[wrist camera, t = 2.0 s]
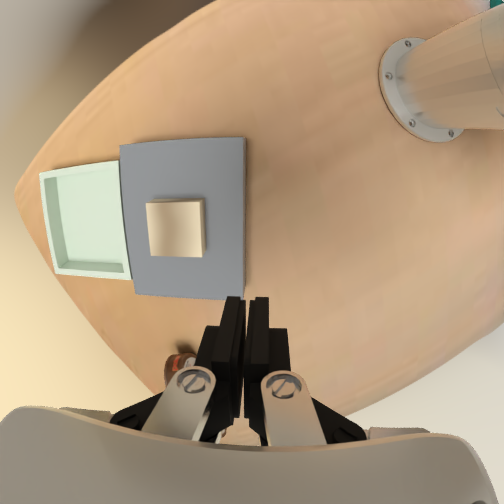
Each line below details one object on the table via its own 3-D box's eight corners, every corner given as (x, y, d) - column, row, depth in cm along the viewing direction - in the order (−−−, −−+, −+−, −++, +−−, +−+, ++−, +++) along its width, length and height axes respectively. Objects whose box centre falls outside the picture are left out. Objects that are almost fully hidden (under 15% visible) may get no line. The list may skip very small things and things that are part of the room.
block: (204, 198, 25) (199, 202, 23) (206, 249, 27) (202, 257, 25) (153, 198, 26) (145, 203, 24) (158, 248, 27) (150, 255, 25)
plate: (245, 138, 26) (243, 137, 23) (245, 285, 32) (243, 300, 29) (134, 144, 27) (119, 145, 24) (146, 280, 33) (135, 294, 29)
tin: (172, 342, 36) (153, 386, 28) (192, 338, 36) (176, 383, 28) (215, 409, 41) (207, 450, 33) (233, 407, 40) (227, 449, 32)
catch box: (131, 158, 28) (118, 160, 25) (141, 268, 32) (131, 279, 29) (54, 169, 28) (39, 173, 25) (67, 264, 33) (55, 273, 30)
